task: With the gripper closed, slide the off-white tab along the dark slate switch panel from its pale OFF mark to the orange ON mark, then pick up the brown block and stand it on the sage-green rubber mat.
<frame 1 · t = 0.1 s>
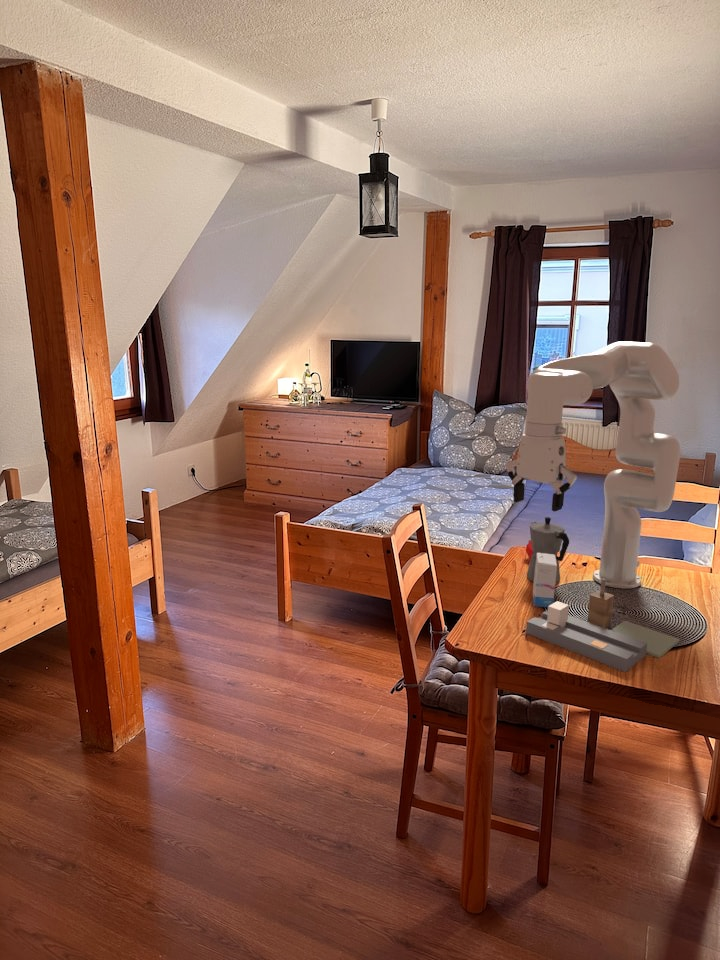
hand: (537, 505, 151), 31 cm above the table, tool pointing down, fingers open, 9 cm apart
coffeepot: (545, 580, 189), on the table
ink box: (542, 601, 175), on the table
switch panel: (583, 644, 153), on the table
brown block: (598, 626, 161), on the table
switch tab: (557, 615, 156), point 5 cm above the table, slide at 0.0 cm
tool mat: (640, 639, 155), on the table
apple: (537, 560, 204), on the table
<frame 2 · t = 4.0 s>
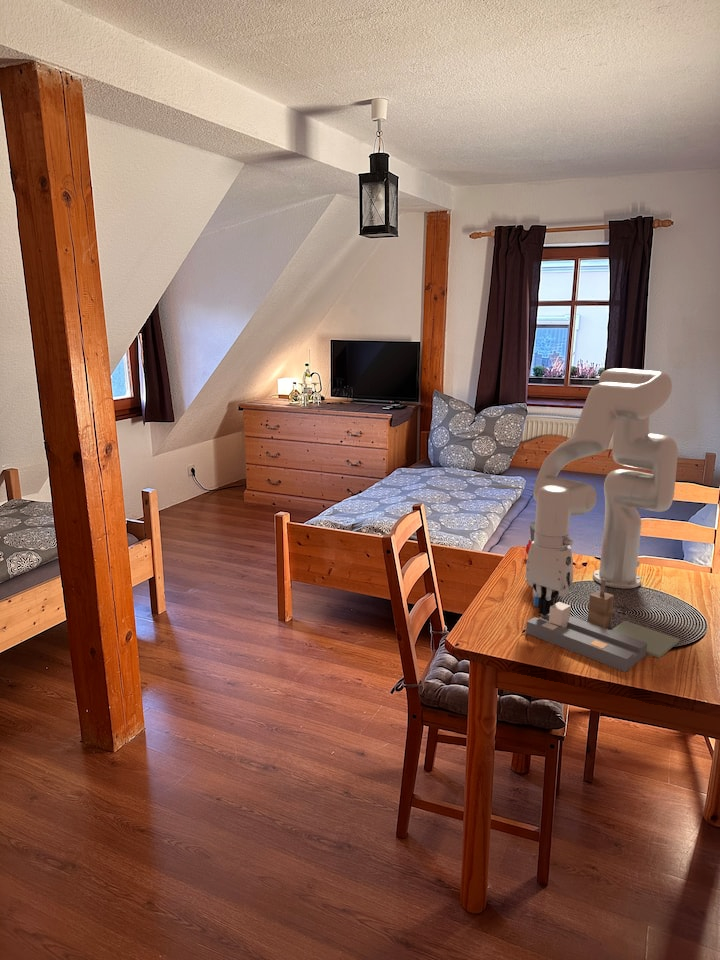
hand: (545, 612, 159), 4 cm above the table, tool pointing down, fingers closed
switch tab: (559, 616, 156), point 5 cm above the table, slide at 0.5 cm, touching gripper
everything else where it was.
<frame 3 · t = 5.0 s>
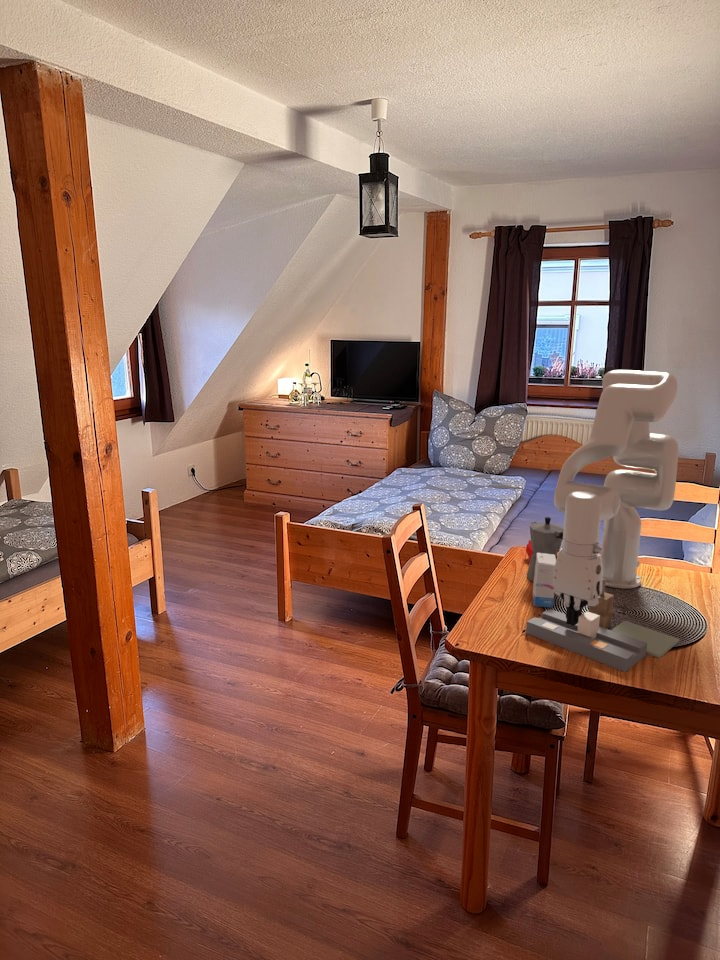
hand: (572, 622, 154), 4 cm above the table, tool pointing down, fingers closed
switch tab: (588, 626, 151), point 5 cm above the table, slide at 7.6 cm, touching gripper
everything else where it was.
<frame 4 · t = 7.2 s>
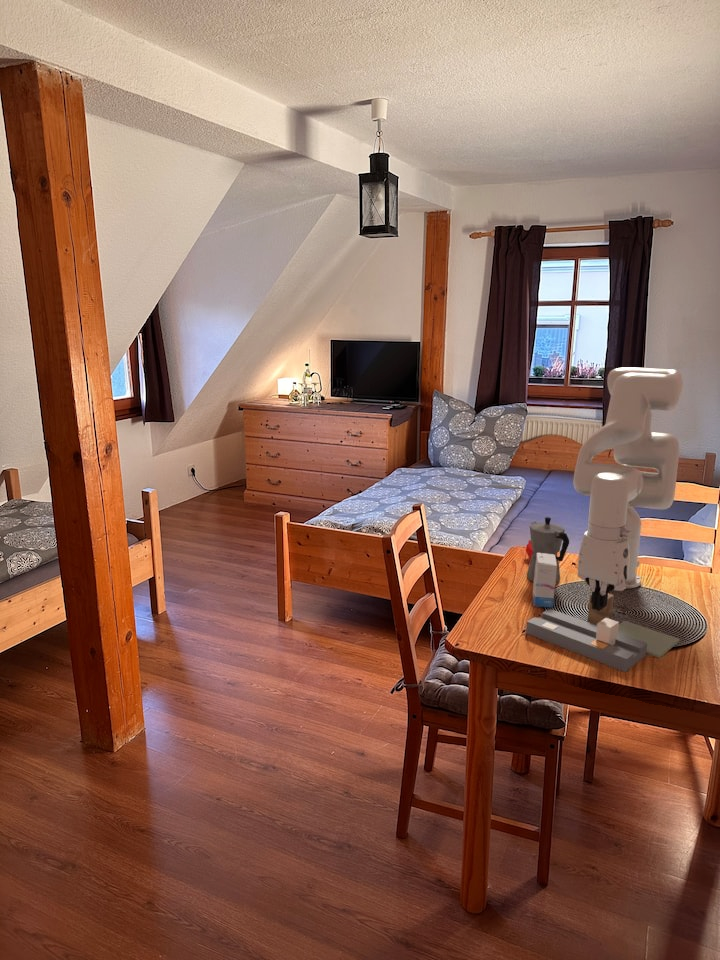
hand: (598, 607, 149), 9 cm above the table, tool pointing down, fingers closed
switch tab: (607, 633, 148), point 5 cm above the table, slide at 12.1 cm
everything else where it was.
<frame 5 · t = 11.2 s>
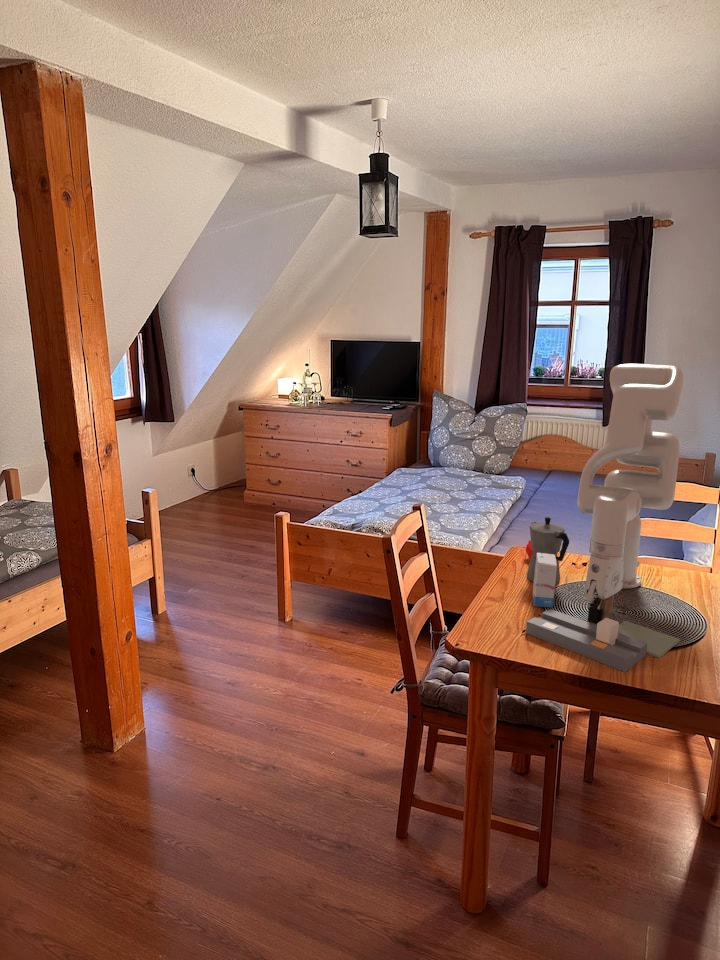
hand: (599, 618, 161), 2 cm above the table, tool pointing down, fingers closed on brown block, 4 cm apart
brown block: (598, 626, 161), on the table, touching gripper
everything else where it was.
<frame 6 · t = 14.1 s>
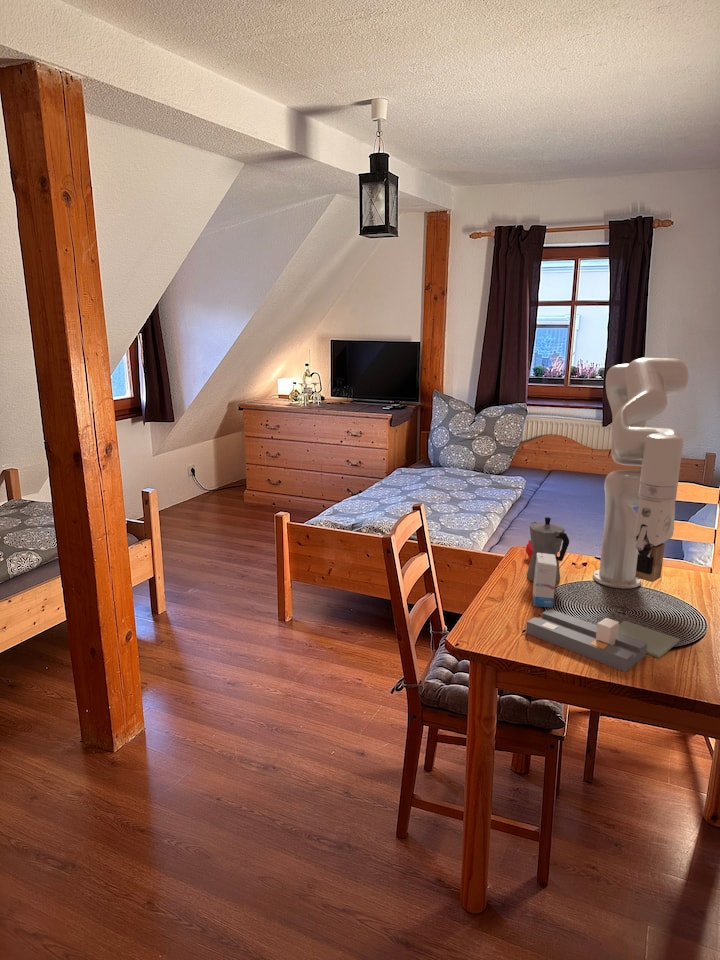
hand: (648, 569, 150), 17 cm above the table, tool pointing down, fingers closed on brown block, 4 cm apart
brown block: (647, 577, 151), point 15 cm above the table, touching gripper
everything else where it was.
when the fingers open (4 cm above the table, at t = 16.9 s): brown block drops 1 cm, resting on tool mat.
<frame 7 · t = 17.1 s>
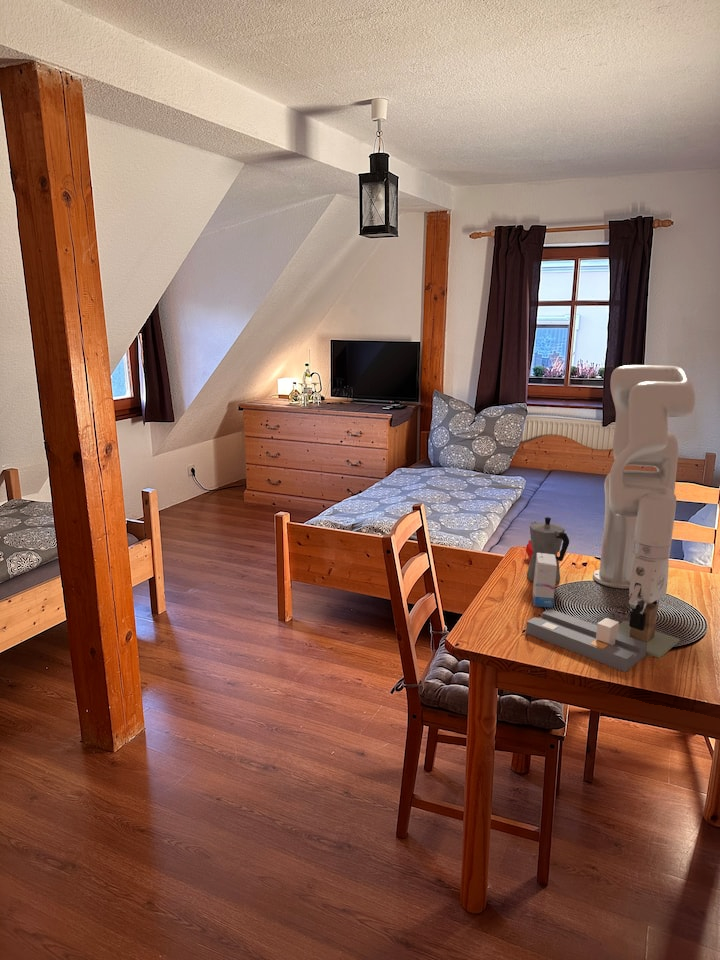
hand: (642, 623, 154), 4 cm above the table, tool pointing down, fingers open, 5 cm apart
brown block: (641, 637, 155), point 1 cm above the table, touching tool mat
everything else where it was.
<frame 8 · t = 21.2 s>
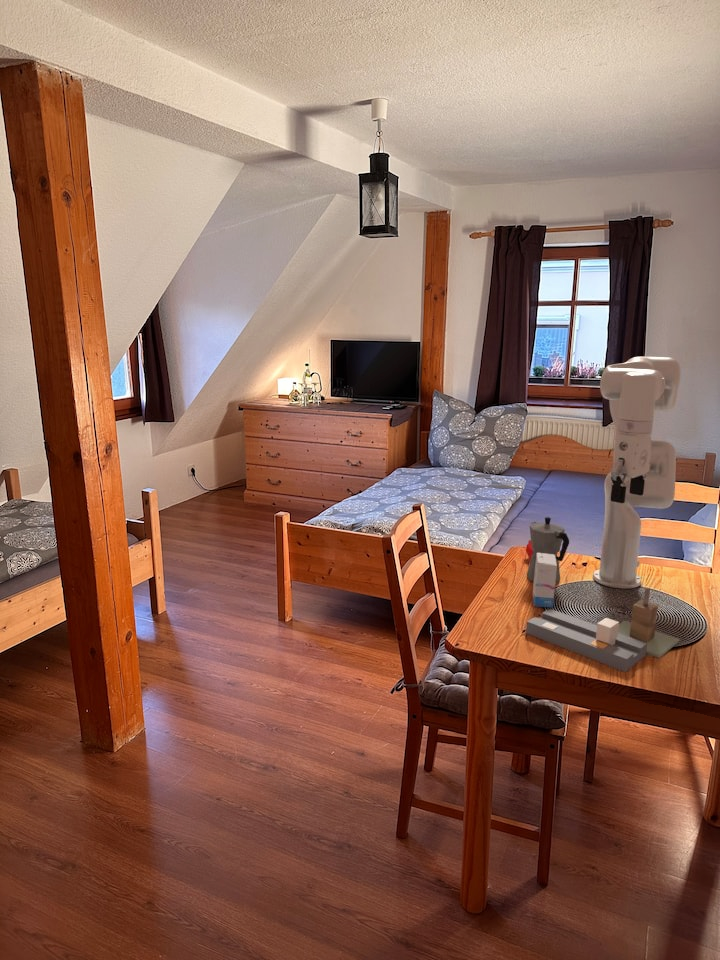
hand: (626, 498, 159), 30 cm above the table, tool pointing down, fingers open, 9 cm apart
nothing on the table moved.
at the end: switch tab slide at 12.1 cm; brown block inside the target area on the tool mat (0.1 cm from its centre), point 0.6 cm above the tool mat's base; brown block tilted 0° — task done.
